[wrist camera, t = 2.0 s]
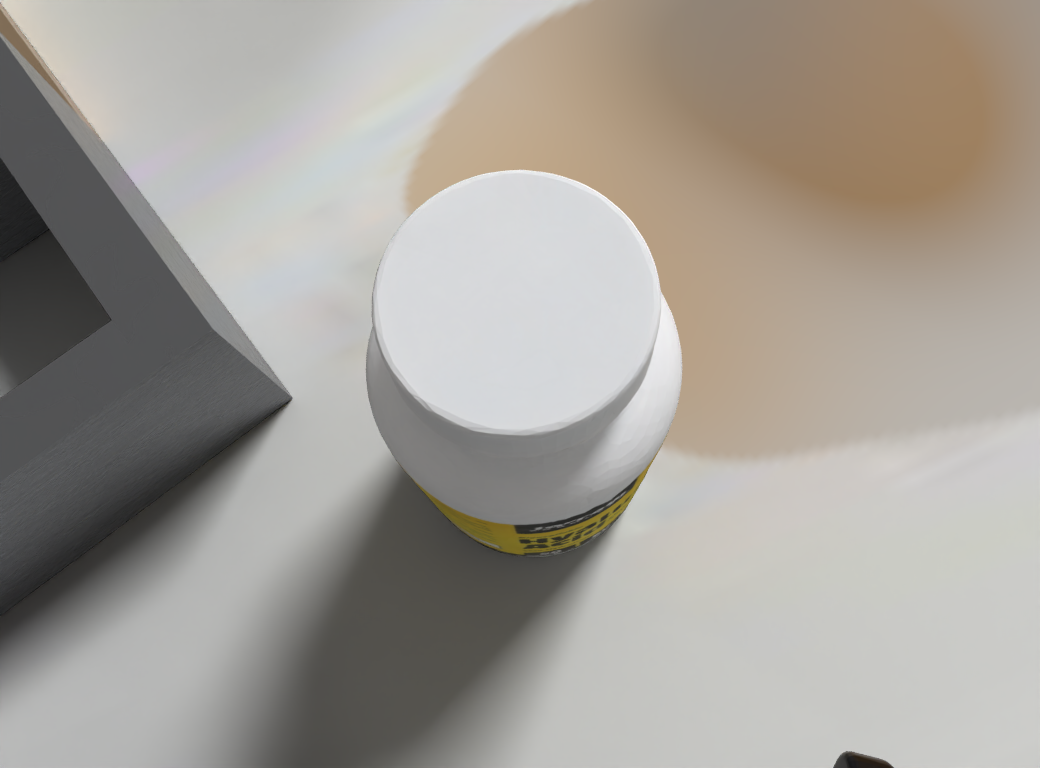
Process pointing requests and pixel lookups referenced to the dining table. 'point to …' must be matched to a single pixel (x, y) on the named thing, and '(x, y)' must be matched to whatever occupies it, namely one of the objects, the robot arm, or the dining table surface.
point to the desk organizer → (105, 342)
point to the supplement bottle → (522, 359)
